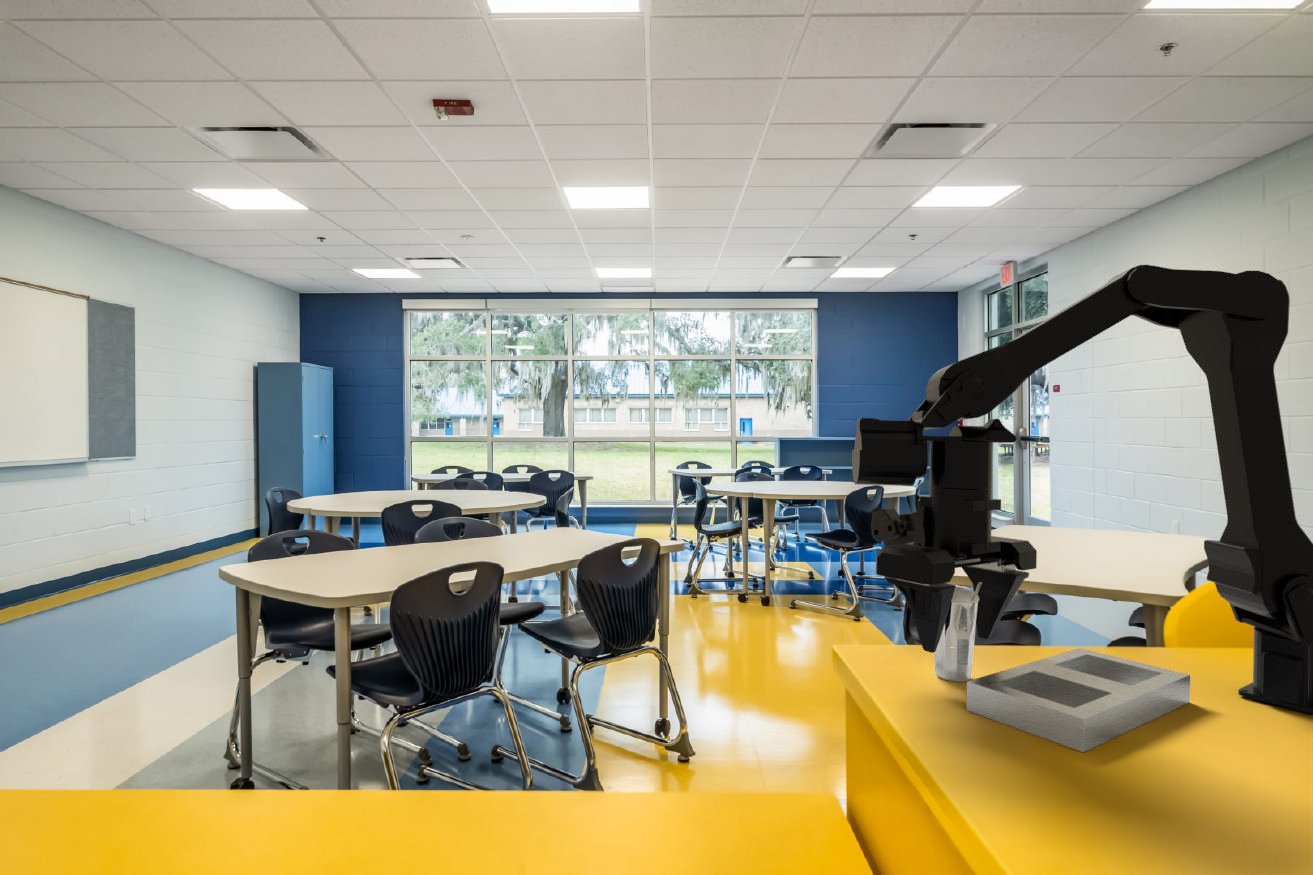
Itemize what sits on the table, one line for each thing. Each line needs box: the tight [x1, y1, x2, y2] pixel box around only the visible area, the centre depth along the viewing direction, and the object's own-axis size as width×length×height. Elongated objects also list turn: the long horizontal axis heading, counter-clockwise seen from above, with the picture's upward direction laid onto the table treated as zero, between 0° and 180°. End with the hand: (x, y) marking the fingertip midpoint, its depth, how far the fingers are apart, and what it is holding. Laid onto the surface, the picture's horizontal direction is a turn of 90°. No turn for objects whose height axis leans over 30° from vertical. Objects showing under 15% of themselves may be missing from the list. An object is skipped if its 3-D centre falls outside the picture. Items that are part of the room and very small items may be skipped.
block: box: [965, 647, 1191, 753], centre depth 61 cm, size 20×10×2 cm, turn 124°
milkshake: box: [933, 582, 982, 683], centre depth 68 cm, size 4×5×10 cm
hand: (957, 644), depth 68 cm, fingers open, 9 cm apart
